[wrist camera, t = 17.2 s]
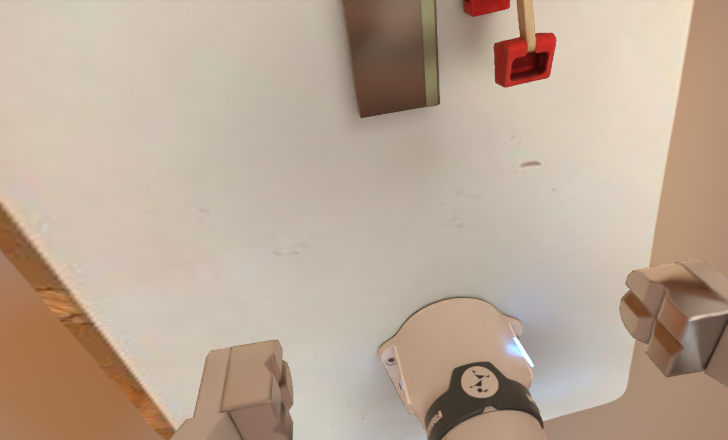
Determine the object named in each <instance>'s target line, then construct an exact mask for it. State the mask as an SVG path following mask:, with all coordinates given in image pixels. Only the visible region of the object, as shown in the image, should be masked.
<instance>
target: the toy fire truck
mask: <svg viewBox="0 0 728 440" xmlns="http://www.w3.org/2000/svg"><path fill="white" fill-rule="evenodd" d="M508 8H510V0H465V1H464V11H465V13H467V14H469V15H471V16H472V17H475V16H479V15H484V14H488V13H492V12H497V11H501V10H505V9H508ZM517 10H518V21H519V30H520V37H518V38H515V39H511V40H506V41H501V42H497V43H495V44H494V64H495V82H496V83H497V84H499V85H501V86H503V87H511V86H514V85H518V84H523V83H528V82H532V81H536V80H541V79H546V78H548V77H549V76H550V72H551V68H552V61H553V56H554V51H555V46H556V37H555V35H554V34H553V33H536V34H535V26H534V13H533V1H532V0H517Z"/></svg>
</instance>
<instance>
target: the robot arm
mask: <svg viewBox="0 0 728 440" xmlns="http://www.w3.org/2000/svg"><path fill="white" fill-rule="evenodd" d="M625 284H626V286H627V287H628V288H629V289H630V290H629V291H628V292H627V293H626V294H625V295H624V296H623V297H622V298H621V303H620V308H619V310H620V314H621V319H622V322H623V324H624V326H625V328H626V329H627V330H628V332H629V333H630V334H631V336H632V337H633V338H635V339H637V340H639V341H641V342H643V343H645V344H646V354H647V355H648V356H649V357H650V358H651V360H652V361H653V362H654V363H655V364H656V366H657V367H658V368H659V369H660V370H661V372H662V373H663V374H664V375H665V376H666V377H671V376H677V375H683V374H689V373H695V372H701V371H705V372H704V373H705V374H707V375H709V376H710V377H712V378H714V379H715V380H717V381H719V382H721V383H722V384H724V385H726V386H727V387H728V278H727V277H725V276H724V275H722V273H720V272H719V271H718V270H717V269H715V268H714V267H713V266H712V265H710V264H709V263H708V262H707V261H705V260H702V259H699V258H695V259H690V260H685V261H680V262H675V263H669V264H664V265H659V266H654V267H649V268H644V269H639V270H634V271H632V272H631V273H630V274H629V275H628V276H627V280H626V283H625ZM522 332H523V327H522V325H521V322H520V321H519V320H517V319H514V318H511V317H508V316H504V315H503V314H502V313H500V312H499V311H498V310H497V309H496V308H495V307H494V306H492V305H491V304H489V303H487V302H485V301H482V300H478V299H473V298H454V299H448V300H444V301H440V302H437V303H434V304H432V305H429V306H427V307H425V308H423V309H422V310H420V311H418V312H417V313H416V314H414V315H413V316H412V317H411V318H409V319H408V320H407V321H406V323H405V324H404V325H403V326H402V328H401V329H400V330H399V332H398V333H397V334H396V336H395V337H393V338H392V339H390V340H389V341H387V342H386V343H384V344H383V345H382V346H381V347H380V348H379V355H380V358H381V360H382V362H383V364H384V366H385V368H386V370H387V372H388V374H389V376H390V378H391V380H392V382H393V384H394V386H395V388H396V390H397V392H398V394H399V396H400V398H401V400H402V402H403V404H404V406H405V408H406V410H407V412H408V413H410V414H414V415H417V417H418V419H419V421H420V423H421V424H422V426H423V428H424V430H425V431H426V433H427V438H428V440H548V439H547V437H546V435H545V433H544V431H543V427H544V426H543V421H542V418H541V416H540V412H539V409H538V407H537V405H536V403H535V401H534V400H533V399H532V397H531V395H530V393H529V391H528V389H529V387H530V385H531V380H532V379H533V374H532V371H531V369H530V366H529V364H530V365H531V367H533V366H534V365H533V363H532V361H531V359H530V358H529V356H528V355H527V353H526V352H525V350H524V349H523V347H522V346H521V344H520V343H519V340H520V337H521V335H522ZM526 359H527V360H526ZM527 361H528V362H529V364H528V362H527ZM292 405H293V386H292V378H291V374H290V369H289V366H288V364H287V362H285V361H284V360H282V347H281V345H280V342H279V340H270V341H263V342H257V343H251V344H245V345H239V346H233V347H229V348H223V349H217V350H211V351H210V352H209V354H208V355H207V357H206V361H205V366H204V370H203V375H202V379H201V384H200V388H199V393H198V398H197V402H196V407H195V411H194V416H193V418H190V419H186V420H185V421H184V423H183V424H182V425H181V426H180V427H179V429H178V430H177V431H176V432H175V433H174V435H173V436H172V437H171V438H170V439H169V440H293V421H292V419H291V416H290V413H289V409H290V408H291V406H292Z"/></svg>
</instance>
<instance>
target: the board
mask: <svg viewBox="0 0 728 440" xmlns="http://www.w3.org/2000/svg"><path fill="white" fill-rule="evenodd" d="M342 1H343V8H344V15H345V22H346V29H347V35H348V42H349V49H350V56H351V63H352V70H353V77H354V83H355V90H356V97H357V104H358V111H359V114H360V117H361V118H364V117H370V116H376V115H382V114H387V113H393V112H399V111H404V110H410V109H416V108H421V107H431V106H436V105H438V104H440V95H439V69H438V44H437V18H436V0H342Z"/></svg>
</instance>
